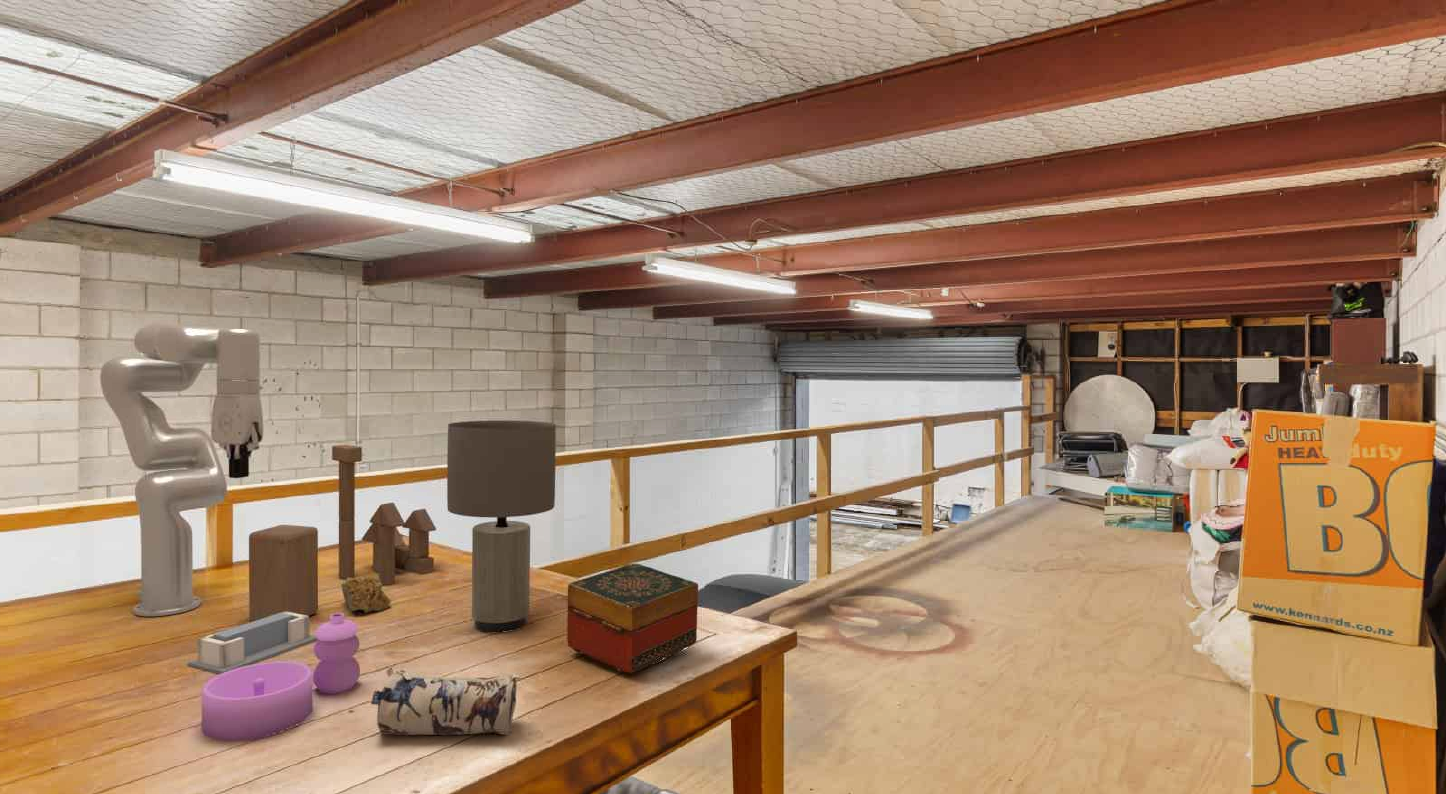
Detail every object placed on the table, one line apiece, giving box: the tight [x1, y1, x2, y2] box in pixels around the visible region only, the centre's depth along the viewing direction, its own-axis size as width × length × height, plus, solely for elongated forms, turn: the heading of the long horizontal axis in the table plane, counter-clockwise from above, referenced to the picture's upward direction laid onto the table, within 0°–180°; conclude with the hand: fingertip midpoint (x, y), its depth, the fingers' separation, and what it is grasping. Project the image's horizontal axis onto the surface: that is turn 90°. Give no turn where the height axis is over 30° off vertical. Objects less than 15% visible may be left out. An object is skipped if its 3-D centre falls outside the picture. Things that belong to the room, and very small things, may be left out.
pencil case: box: [370, 665, 522, 736], centre depth 121 cm, size 22×8×10 cm, turn 92°
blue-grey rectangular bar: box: [213, 613, 293, 657], centre depth 151 cm, size 14×4×5 cm, turn 157°
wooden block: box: [248, 524, 319, 622], centre depth 171 cm, size 10×10×20 cm
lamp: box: [446, 420, 557, 633], centre depth 170 cm, size 23×23×44 cm
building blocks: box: [331, 444, 437, 587], centre depth 206 cm, size 19×25×35 cm
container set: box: [201, 612, 361, 742], centre depth 128 cm, size 25×15×13 cm, turn 151°
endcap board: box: [187, 611, 318, 675], centre depth 151 cm, size 10×20×5 cm, turn 157°
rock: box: [341, 576, 392, 613], centre depth 180 cm, size 12×9×10 cm
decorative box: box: [566, 563, 699, 674], centre depth 154 cm, size 20×22×16 cm
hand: (238, 477), depth 159 cm, fingers closed
